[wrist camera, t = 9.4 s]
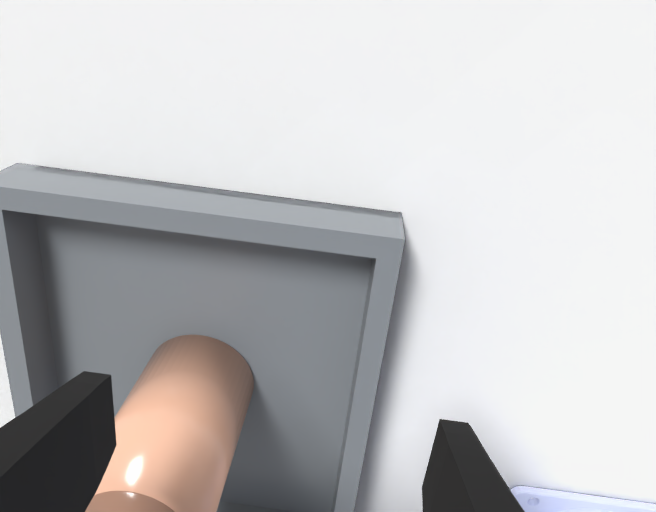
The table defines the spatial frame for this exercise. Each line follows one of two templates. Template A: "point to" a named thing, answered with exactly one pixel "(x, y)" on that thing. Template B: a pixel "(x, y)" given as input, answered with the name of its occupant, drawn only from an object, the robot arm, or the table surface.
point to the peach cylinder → (178, 430)
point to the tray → (207, 311)
